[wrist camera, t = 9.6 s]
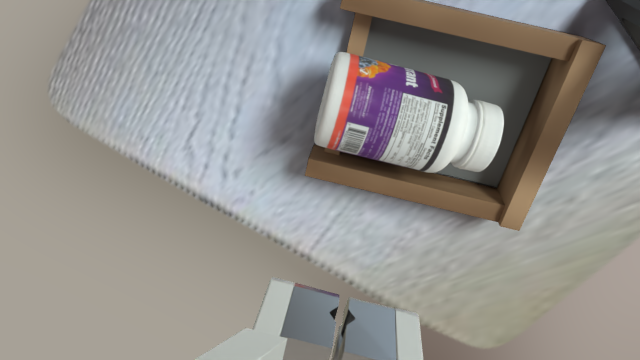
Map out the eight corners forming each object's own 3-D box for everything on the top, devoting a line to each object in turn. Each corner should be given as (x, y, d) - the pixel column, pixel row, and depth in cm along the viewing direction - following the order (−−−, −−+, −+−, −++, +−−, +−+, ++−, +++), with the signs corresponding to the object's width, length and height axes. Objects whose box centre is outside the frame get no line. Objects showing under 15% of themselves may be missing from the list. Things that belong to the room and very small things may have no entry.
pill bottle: (332, 50, 28) (484, 90, 29) (311, 136, 29) (456, 172, 30) (339, 47, 23) (524, 97, 24) (313, 153, 24) (489, 195, 25)
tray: (348, -17, 27) (344, -15, 24) (583, 36, 26) (605, 45, 24) (310, 160, 32) (303, 178, 29) (507, 207, 31) (519, 230, 29)
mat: (372, 15, 27) (372, 15, 27) (550, 56, 27) (552, 57, 27) (340, 147, 31) (340, 149, 31) (496, 185, 31) (497, 187, 30)
